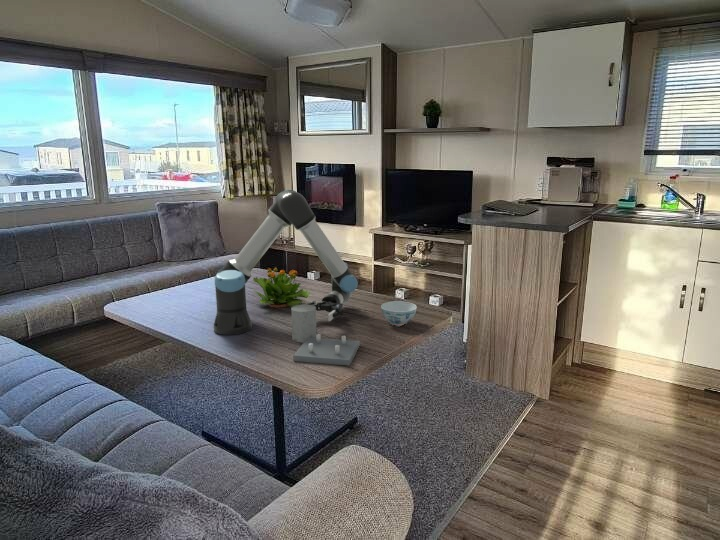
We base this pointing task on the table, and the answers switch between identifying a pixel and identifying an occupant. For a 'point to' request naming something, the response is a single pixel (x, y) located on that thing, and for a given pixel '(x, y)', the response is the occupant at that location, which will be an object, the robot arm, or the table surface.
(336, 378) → the table surface
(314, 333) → the grey marbled cylinder
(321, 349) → the stub board
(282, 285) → the potted flower
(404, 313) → the chinaware
